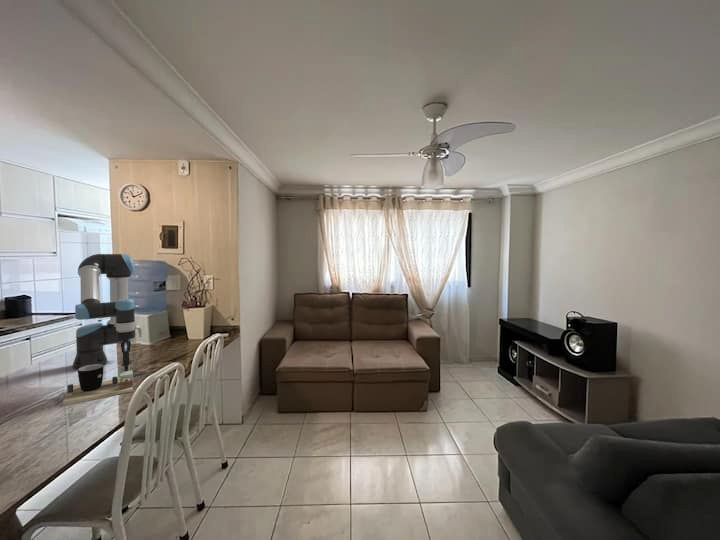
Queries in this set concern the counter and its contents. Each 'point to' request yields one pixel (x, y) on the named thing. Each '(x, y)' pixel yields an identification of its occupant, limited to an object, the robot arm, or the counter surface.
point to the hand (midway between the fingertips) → (126, 377)
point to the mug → (90, 377)
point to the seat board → (98, 390)
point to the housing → (126, 375)
